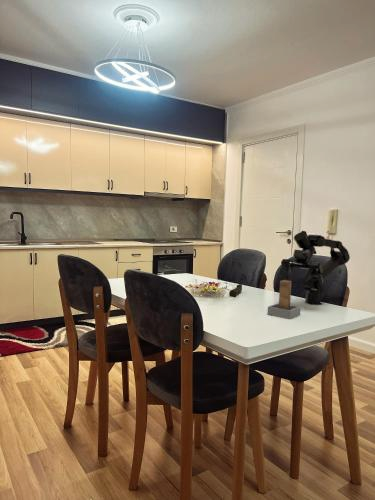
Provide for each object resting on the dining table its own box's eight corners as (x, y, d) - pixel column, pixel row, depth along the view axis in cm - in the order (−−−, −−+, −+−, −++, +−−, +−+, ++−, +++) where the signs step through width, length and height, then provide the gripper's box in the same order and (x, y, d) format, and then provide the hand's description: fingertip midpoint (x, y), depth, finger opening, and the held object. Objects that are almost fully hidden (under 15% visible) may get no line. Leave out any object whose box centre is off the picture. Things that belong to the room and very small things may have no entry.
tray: (278, 310, 171) (278, 302, 170) (300, 314, 164) (300, 306, 164) (267, 314, 163) (267, 306, 162) (290, 319, 156) (290, 310, 156)
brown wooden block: (281, 311, 166) (283, 280, 165) (289, 312, 164) (291, 281, 162) (278, 312, 163) (280, 280, 162) (286, 314, 161) (287, 282, 160)
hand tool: (236, 297, 196) (236, 289, 196) (228, 297, 198) (229, 288, 198) (245, 292, 214) (246, 284, 213) (238, 291, 215) (239, 283, 215)
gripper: (283, 242, 182) (272, 266, 175) (322, 245, 171) (311, 271, 163) (289, 257, 189) (278, 281, 182) (326, 261, 177) (316, 287, 170)
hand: (295, 280), depth 174 cm, fingers open, 9 cm apart
